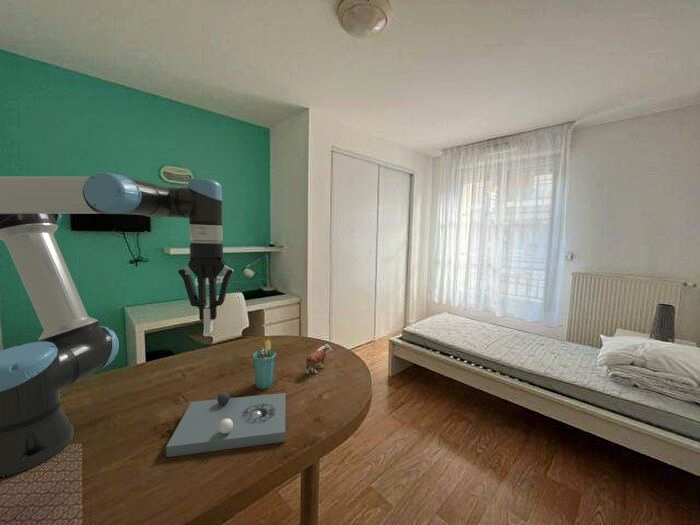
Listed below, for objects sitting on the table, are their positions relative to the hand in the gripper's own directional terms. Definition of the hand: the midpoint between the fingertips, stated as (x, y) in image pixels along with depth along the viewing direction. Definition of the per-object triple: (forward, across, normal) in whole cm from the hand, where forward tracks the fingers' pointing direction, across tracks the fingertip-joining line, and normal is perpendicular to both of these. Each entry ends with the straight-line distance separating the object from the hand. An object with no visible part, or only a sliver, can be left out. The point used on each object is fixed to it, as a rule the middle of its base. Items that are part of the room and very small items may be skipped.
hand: (208, 331), depth 73 cm
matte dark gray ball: (+20, +3, +2) cm, 21 cm away
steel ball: (+23, +12, -4) cm, 26 cm away
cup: (+25, +13, +14) cm, 31 cm away
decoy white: (+20, +6, -10) cm, 23 cm away
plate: (+24, +7, -4) cm, 26 cm away
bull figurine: (+25, +32, +23) cm, 47 cm away
